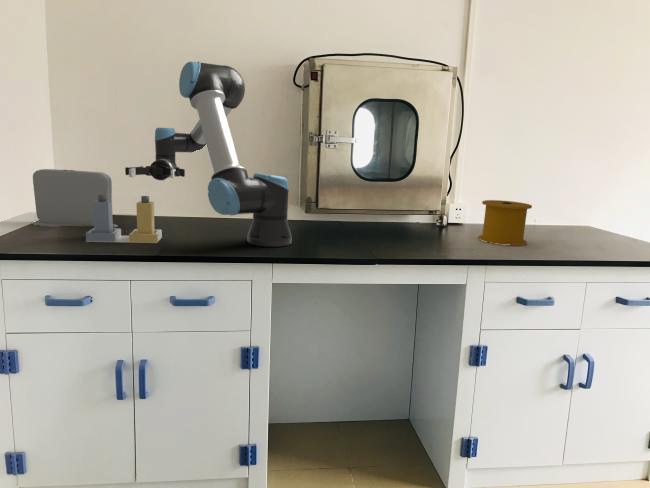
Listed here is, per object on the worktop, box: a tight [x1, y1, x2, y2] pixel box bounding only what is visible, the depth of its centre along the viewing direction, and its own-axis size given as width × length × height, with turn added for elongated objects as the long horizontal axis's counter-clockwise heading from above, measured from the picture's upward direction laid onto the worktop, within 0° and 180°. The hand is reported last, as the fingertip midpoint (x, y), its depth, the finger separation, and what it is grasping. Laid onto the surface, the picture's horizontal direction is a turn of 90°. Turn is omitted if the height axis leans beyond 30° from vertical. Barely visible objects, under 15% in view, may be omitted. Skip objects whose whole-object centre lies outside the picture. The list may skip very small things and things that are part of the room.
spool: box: [477, 199, 533, 245], centre depth 201 cm, size 18×18×15 cm
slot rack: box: [85, 227, 163, 244], centre depth 169 cm, size 22×10×4 cm, turn 98°
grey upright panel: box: [31, 168, 119, 228], centre depth 189 cm, size 31×10×20 cm, turn 84°
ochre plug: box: [136, 195, 155, 234], centre depth 169 cm, size 4×4×14 cm
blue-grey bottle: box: [93, 195, 114, 233], centre depth 167 cm, size 4×4×14 cm
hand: (151, 173), depth 177 cm, fingers open, 13 cm apart
